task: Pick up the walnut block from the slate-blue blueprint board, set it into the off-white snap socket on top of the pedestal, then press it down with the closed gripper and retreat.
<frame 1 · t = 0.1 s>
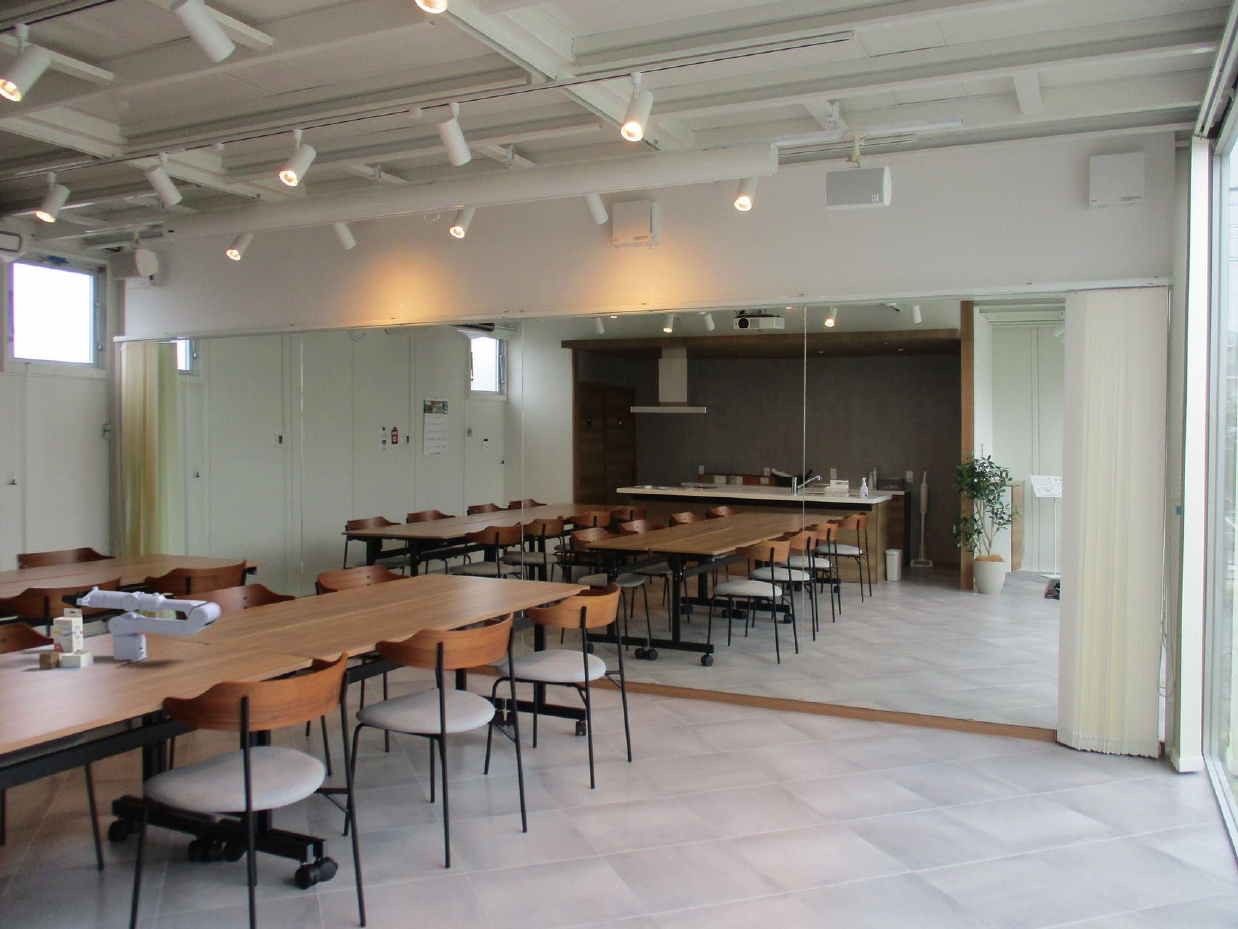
hand: (69, 596, 317), 22 cm above the table, tool horizontal, fingers open, 7 cm apart
blueprint board: (66, 669, 304), on the table
ink cartridge box: (68, 651, 333), on the table
walnut block: (49, 668, 302), point 1 cm above the table, touching blueprint board
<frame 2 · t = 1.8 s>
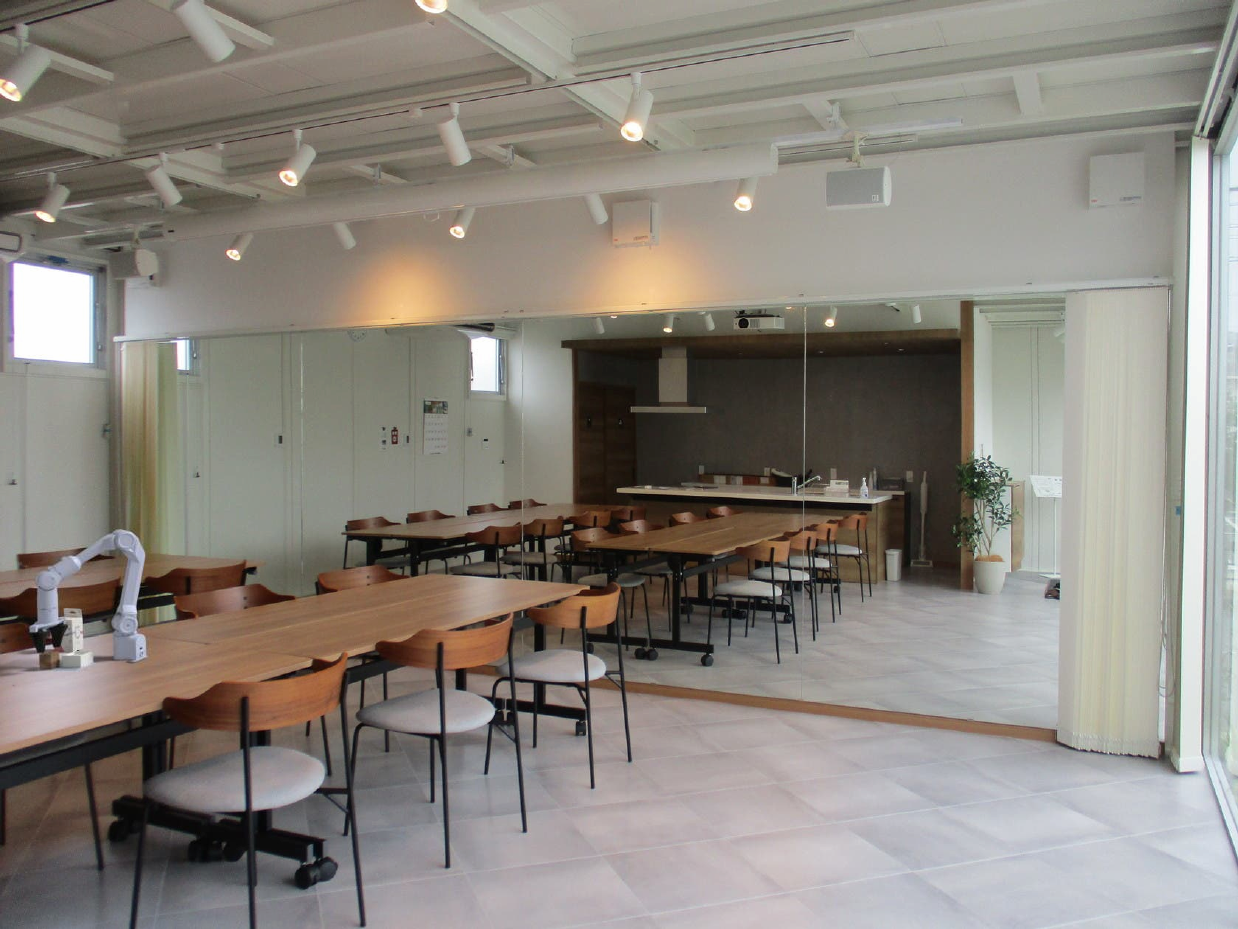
hand: (48, 650, 302), 7 cm above the table, tool pointing down, fingers open, 7 cm apart
nothing on the table moved.
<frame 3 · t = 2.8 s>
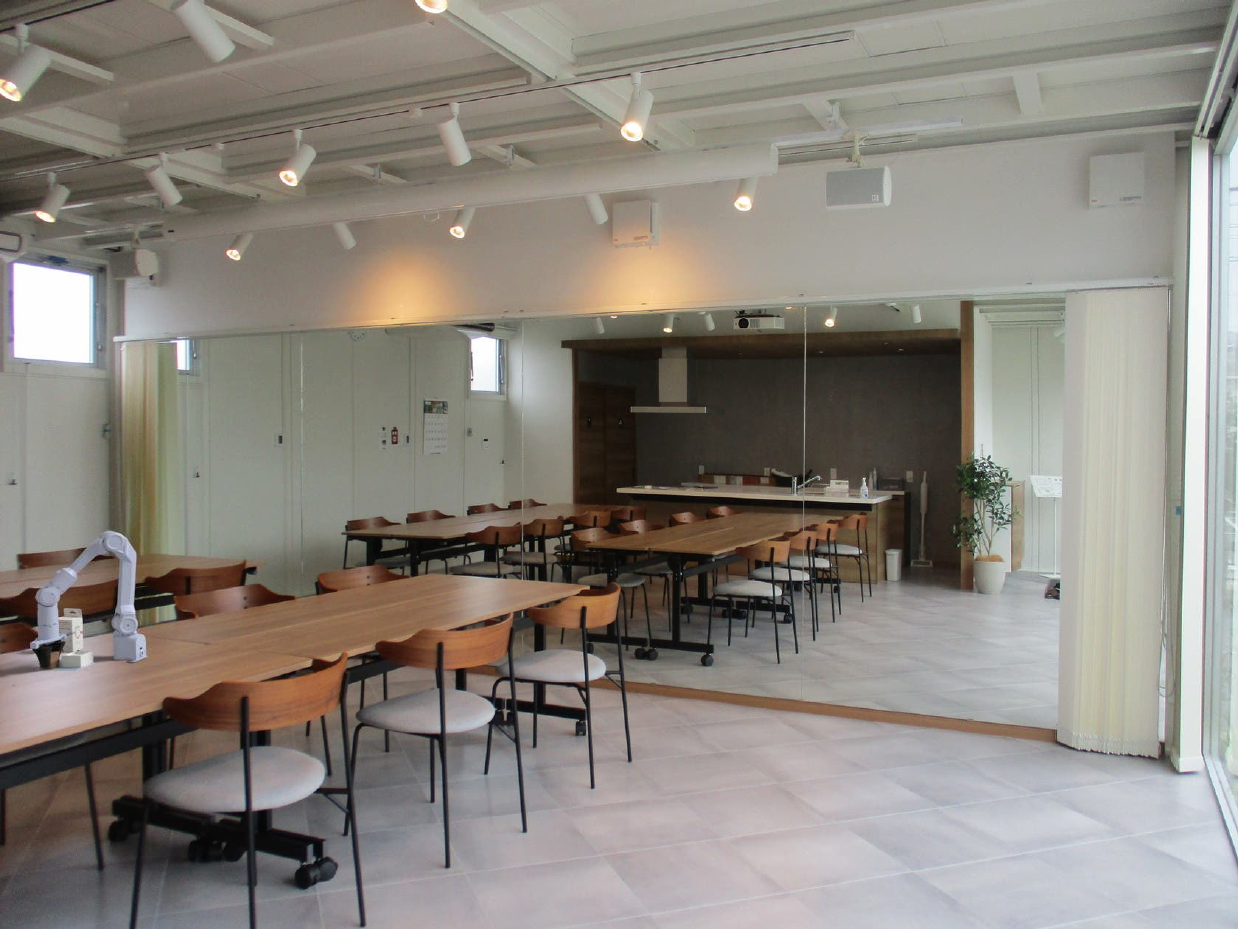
hand: (49, 666, 302), 2 cm above the table, tool pointing down, fingers closed on walnut block, 4 cm apart
walnut block: (49, 668, 302), point 1 cm above the table, touching blueprint board, gripper
everything else where it was.
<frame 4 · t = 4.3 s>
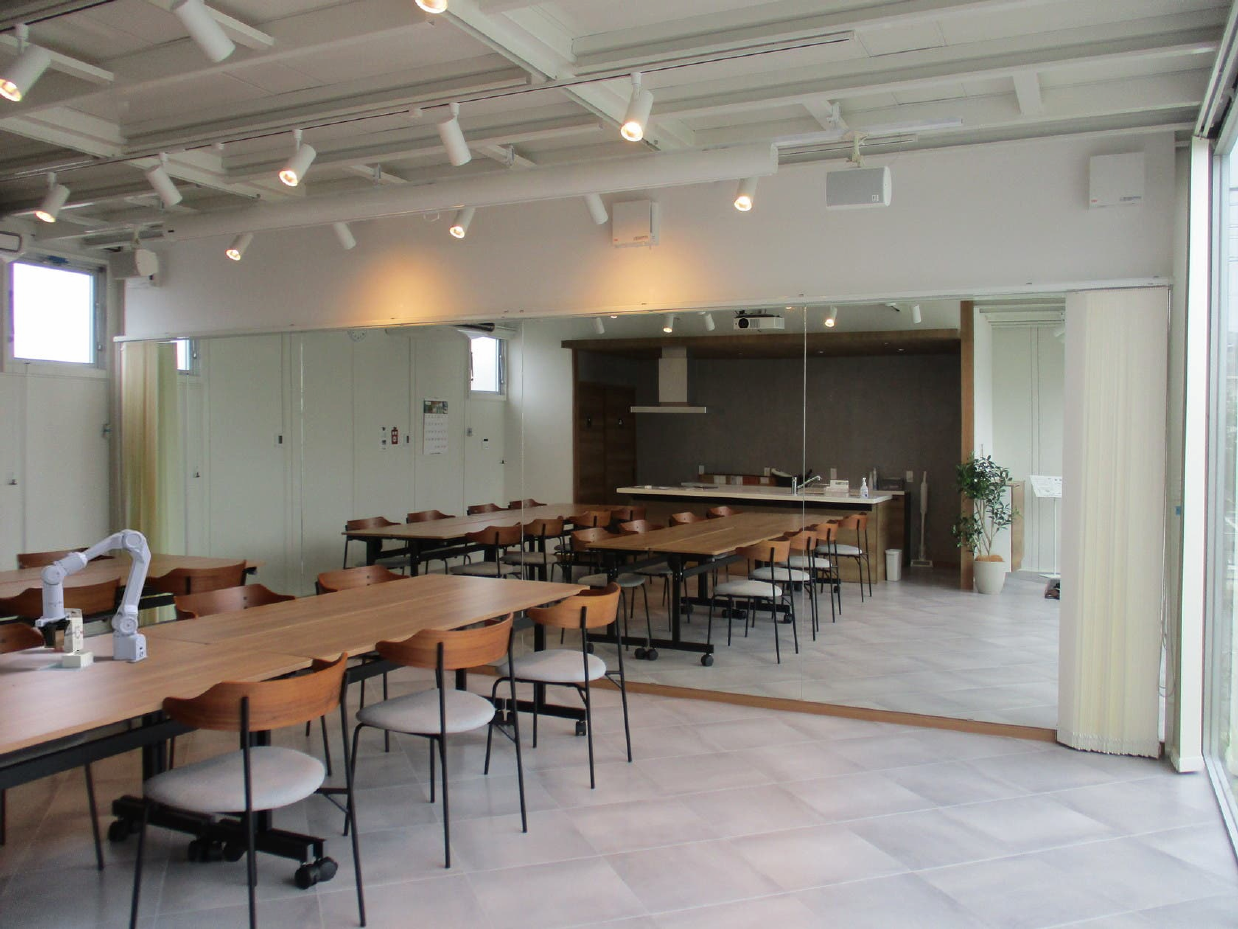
hand: (54, 644, 303), 9 cm above the table, tool pointing down, fingers closed on walnut block, 4 cm apart
walnut block: (54, 646, 303), point 8 cm above the table, touching gripper
everything else where it was.
when the fingers open (6 cm above the table, at t = 5.7 s): walnut block drops 1 cm, resting on blueprint board.
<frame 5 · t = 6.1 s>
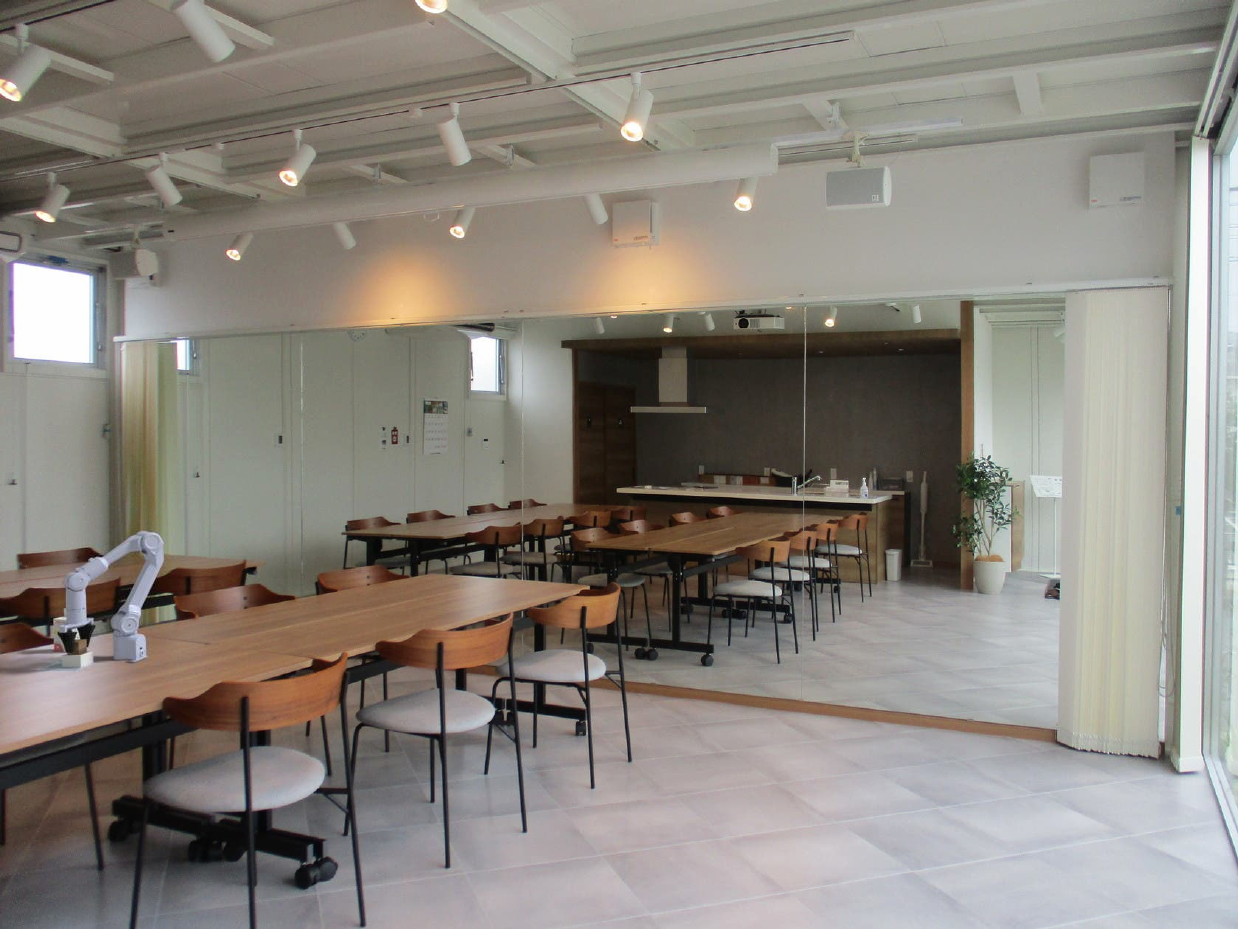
hand: (77, 650, 306), 6 cm above the table, tool pointing down, fingers open, 7 cm apart
walnut block: (77, 655, 306), point 4 cm above the table, touching blueprint board
everything else where it was.
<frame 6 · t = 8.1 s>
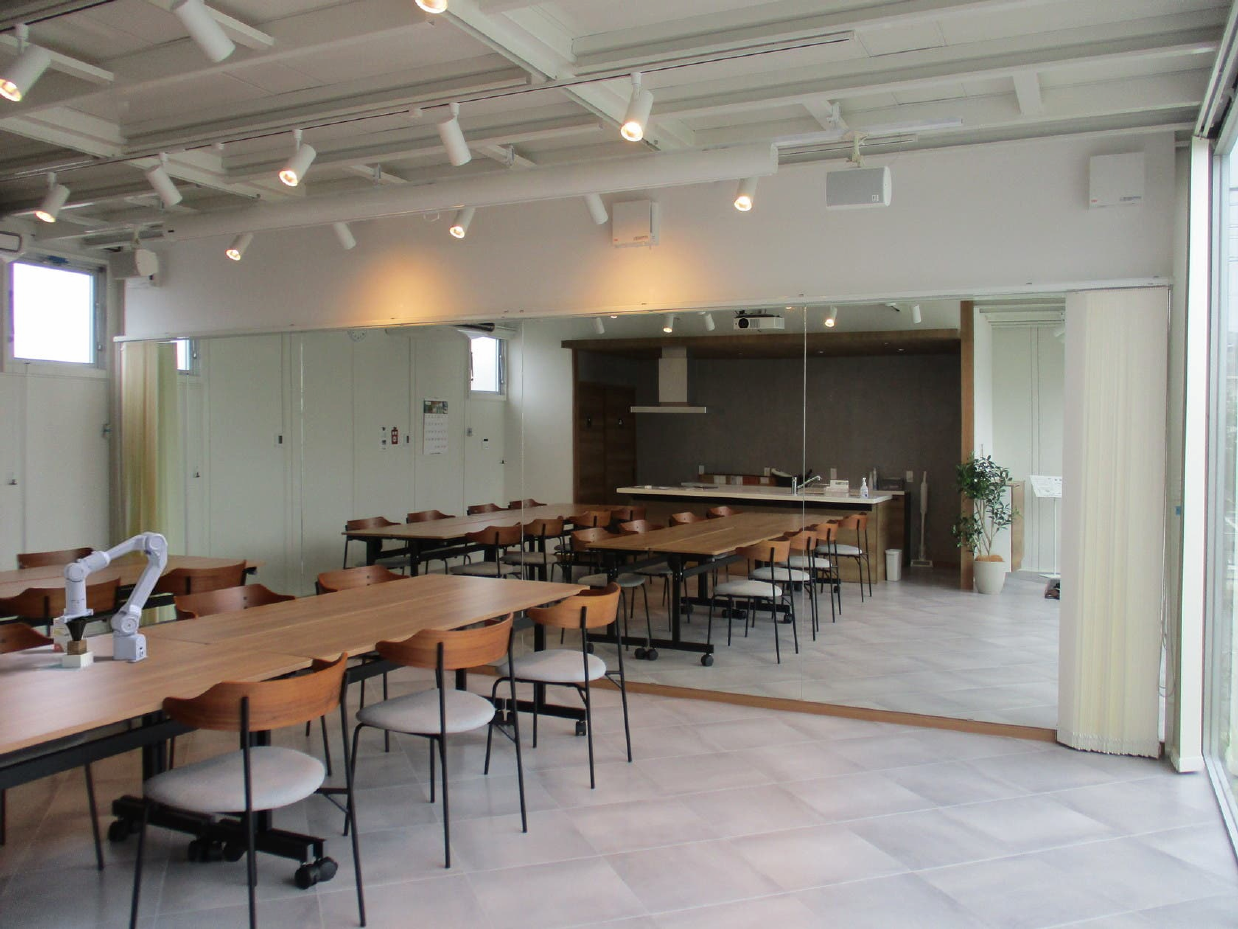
hand: (77, 640, 306), 9 cm above the table, tool pointing down, fingers closed, pressing on walnut block
walnut block: (77, 655, 306), point 4 cm above the table, touching blueprint board, gripper
everything else where it was.
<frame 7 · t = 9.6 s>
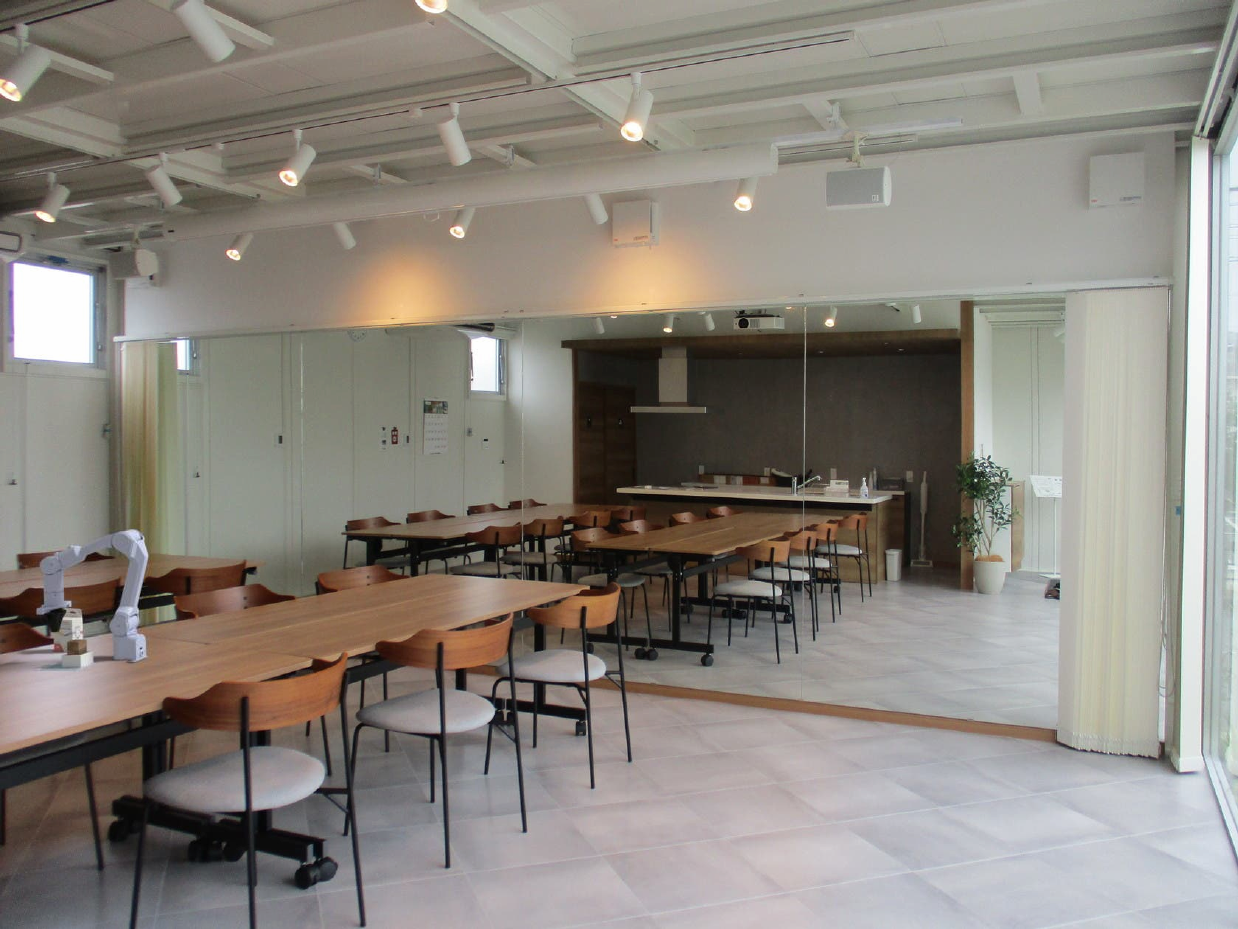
hand: (55, 632, 314), 10 cm above the table, tool pointing down, fingers closed
walnut block: (77, 655, 306), point 4 cm above the table, touching blueprint board
everything else where it was.
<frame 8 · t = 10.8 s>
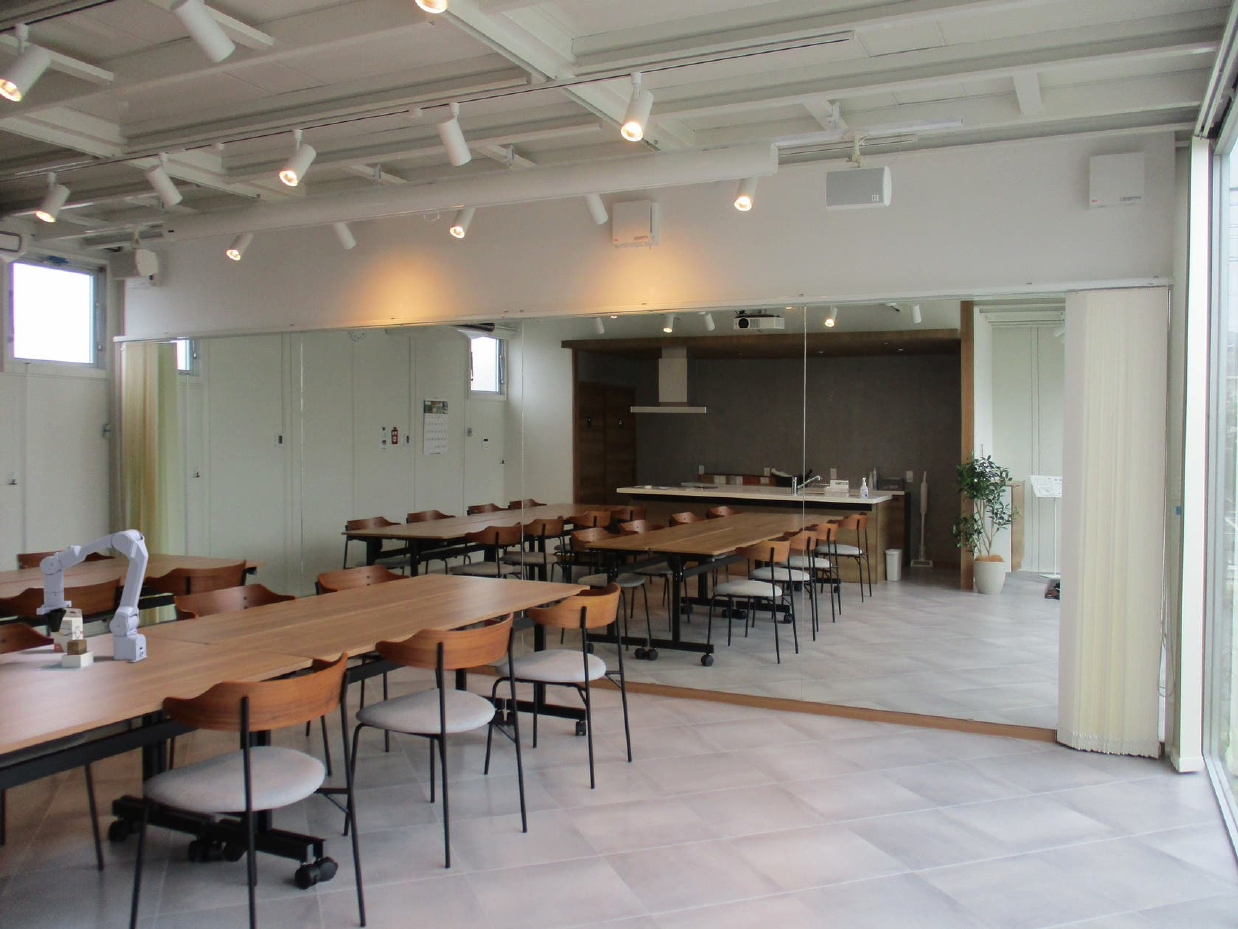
hand: (55, 632, 314), 10 cm above the table, tool pointing down, fingers closed
nothing on the table moved.
at the end: walnut block 0.1 cm from the target spot on the blueprint board, point 4.0 cm above the blueprint board's base; walnut block tilted 0°; the gripper is holding nothing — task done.
